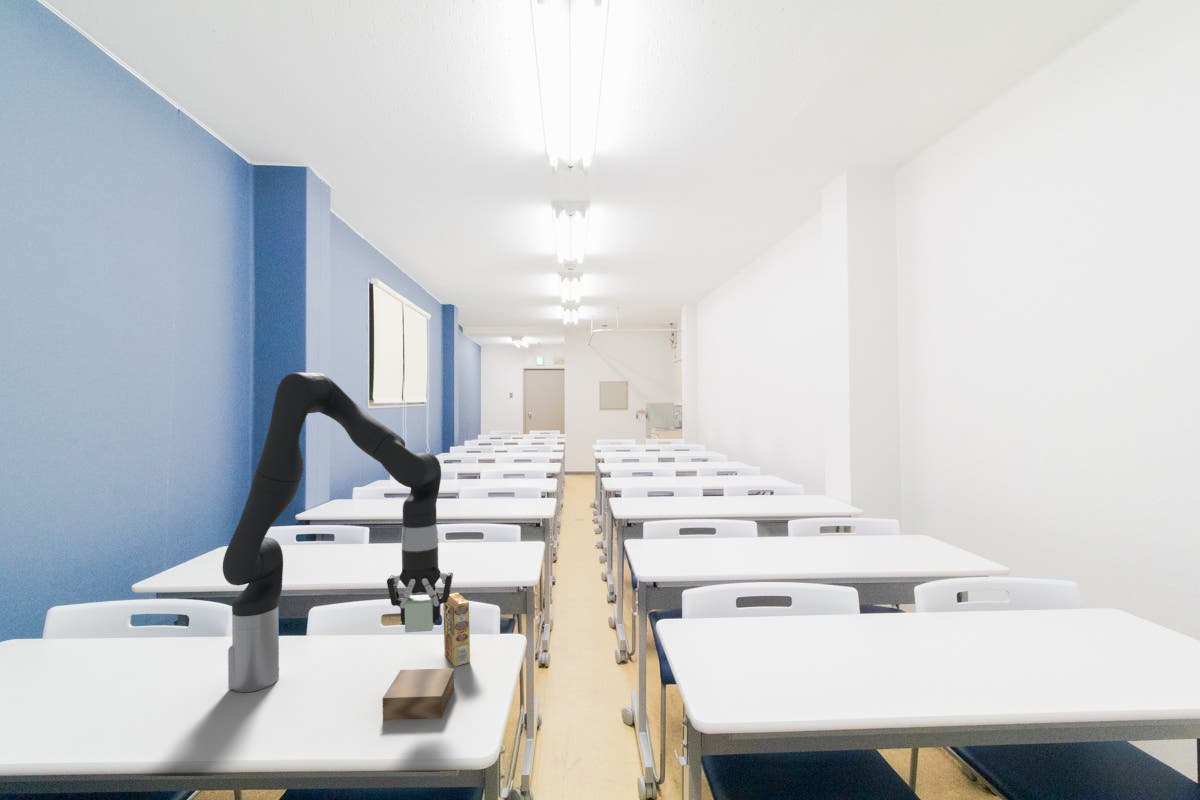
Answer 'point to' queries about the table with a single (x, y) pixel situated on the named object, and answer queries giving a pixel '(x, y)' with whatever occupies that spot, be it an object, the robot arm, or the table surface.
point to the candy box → (456, 629)
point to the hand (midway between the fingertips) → (420, 622)
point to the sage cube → (419, 614)
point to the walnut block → (418, 694)
